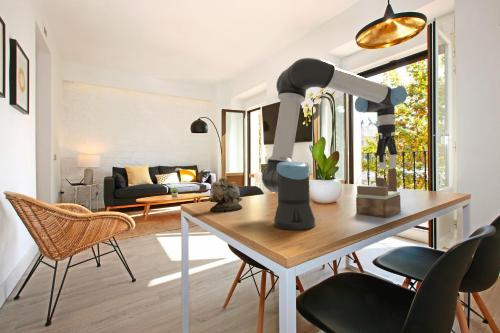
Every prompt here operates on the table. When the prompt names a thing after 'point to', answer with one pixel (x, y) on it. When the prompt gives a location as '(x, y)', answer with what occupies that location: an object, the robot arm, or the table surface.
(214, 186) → the owl figurine
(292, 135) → the robot arm
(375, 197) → the lid
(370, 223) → the table surface
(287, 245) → the table surface
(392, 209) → the toolbox
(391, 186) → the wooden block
